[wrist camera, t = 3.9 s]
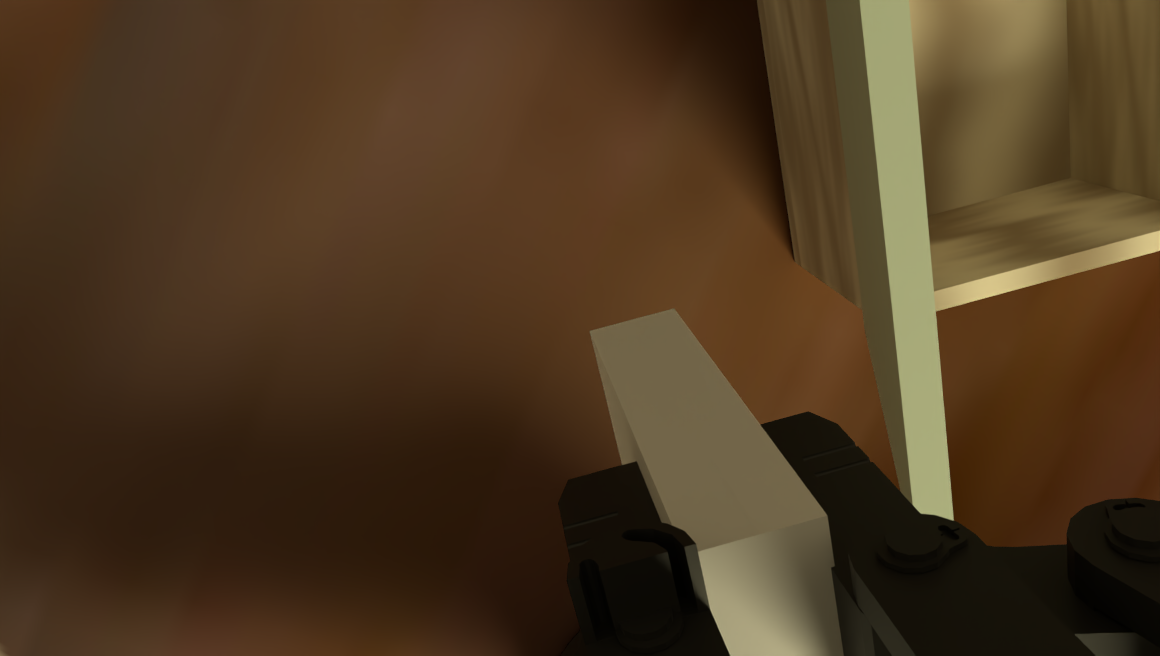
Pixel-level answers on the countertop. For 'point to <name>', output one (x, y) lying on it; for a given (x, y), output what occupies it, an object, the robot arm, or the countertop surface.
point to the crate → (987, 139)
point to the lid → (892, 236)
